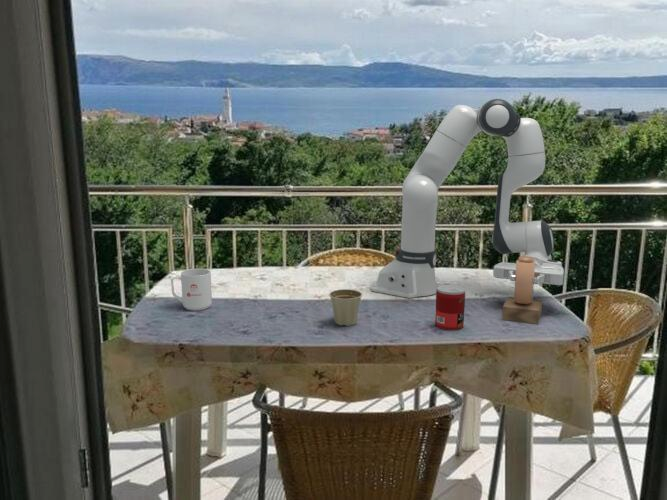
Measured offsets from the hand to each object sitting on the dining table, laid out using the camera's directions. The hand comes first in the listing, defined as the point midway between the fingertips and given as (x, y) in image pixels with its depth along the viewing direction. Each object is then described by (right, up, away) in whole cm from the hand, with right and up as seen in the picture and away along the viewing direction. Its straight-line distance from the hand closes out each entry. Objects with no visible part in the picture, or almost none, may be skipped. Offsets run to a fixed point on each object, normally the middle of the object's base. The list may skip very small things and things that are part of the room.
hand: (524, 279), depth 186 cm
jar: (0, -6, +2) cm, 7 cm away
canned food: (-22, -13, -4) cm, 26 cm away
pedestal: (0, -11, +3) cm, 12 cm away
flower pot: (-52, -12, -2) cm, 53 cm away
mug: (-99, -9, +12) cm, 100 cm away
